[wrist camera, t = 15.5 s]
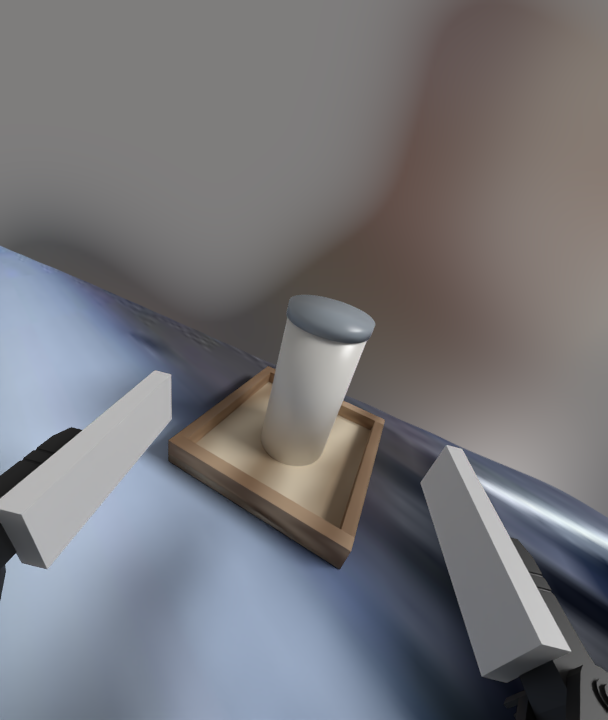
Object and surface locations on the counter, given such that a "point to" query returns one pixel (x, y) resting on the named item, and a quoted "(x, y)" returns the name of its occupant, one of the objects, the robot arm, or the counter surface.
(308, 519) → the tray
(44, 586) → the counter surface
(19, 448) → the counter surface
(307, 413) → the canister
